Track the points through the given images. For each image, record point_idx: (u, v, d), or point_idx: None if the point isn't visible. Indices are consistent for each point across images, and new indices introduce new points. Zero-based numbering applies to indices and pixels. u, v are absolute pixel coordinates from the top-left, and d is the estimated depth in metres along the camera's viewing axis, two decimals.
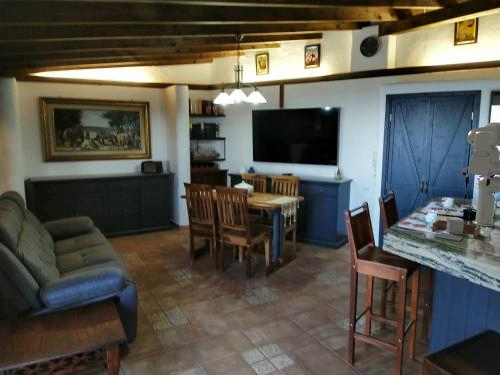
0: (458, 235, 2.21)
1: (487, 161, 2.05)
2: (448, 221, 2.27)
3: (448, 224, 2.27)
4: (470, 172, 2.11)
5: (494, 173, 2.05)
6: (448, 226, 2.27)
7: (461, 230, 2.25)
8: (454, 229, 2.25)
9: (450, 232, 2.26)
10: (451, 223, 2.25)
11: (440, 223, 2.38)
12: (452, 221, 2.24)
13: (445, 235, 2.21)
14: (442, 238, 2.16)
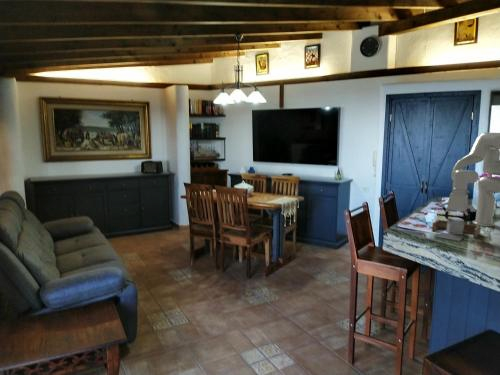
0: (458, 235, 2.21)
1: (465, 198, 2.19)
2: (448, 221, 2.27)
3: (448, 224, 2.27)
4: (449, 208, 2.25)
5: (471, 210, 2.19)
6: (448, 226, 2.27)
7: (461, 230, 2.25)
8: (454, 229, 2.25)
9: (450, 232, 2.25)
10: (451, 223, 2.24)
11: (440, 223, 2.38)
12: (452, 221, 2.24)
13: (445, 235, 2.21)
14: (442, 238, 2.16)
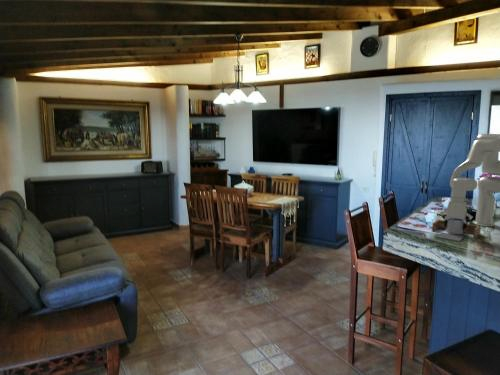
0: (458, 235, 2.21)
1: (463, 207, 2.21)
2: (448, 221, 2.27)
3: (448, 224, 2.27)
4: (448, 216, 2.26)
5: (470, 218, 2.21)
6: (448, 226, 2.27)
7: (461, 230, 2.25)
8: (454, 229, 2.25)
9: (450, 232, 2.26)
10: (451, 223, 2.25)
11: (440, 223, 2.38)
12: (452, 221, 2.24)
13: (445, 235, 2.21)
14: (442, 238, 2.16)
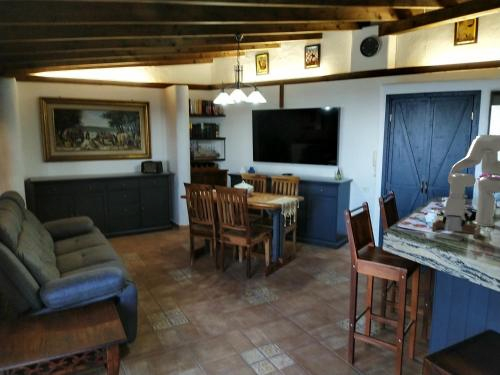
0: (458, 235, 2.21)
1: (462, 203, 2.16)
2: (446, 218, 2.23)
3: (446, 221, 2.22)
4: (447, 212, 2.22)
5: (469, 214, 2.16)
6: (446, 223, 2.22)
7: (460, 227, 2.20)
8: (453, 226, 2.20)
9: (449, 229, 2.21)
10: (450, 220, 2.20)
11: (440, 223, 2.38)
12: (451, 218, 2.20)
13: (445, 235, 2.21)
14: (442, 238, 2.16)
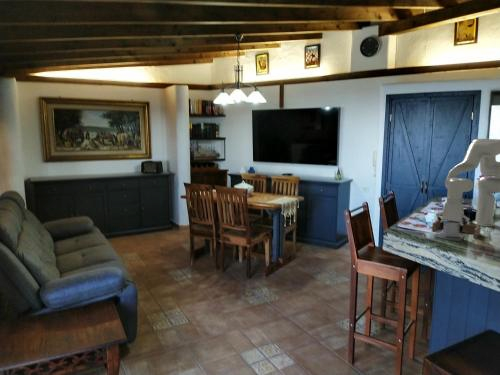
0: None
1: (460, 208, 2.12)
2: (444, 223, 2.19)
3: (444, 226, 2.19)
4: (444, 218, 2.18)
5: (466, 220, 2.12)
6: (444, 228, 2.18)
7: (457, 233, 2.16)
8: (451, 231, 2.17)
9: (446, 235, 2.17)
10: (447, 225, 2.16)
11: None
12: (448, 223, 2.16)
13: None
14: (442, 238, 2.16)
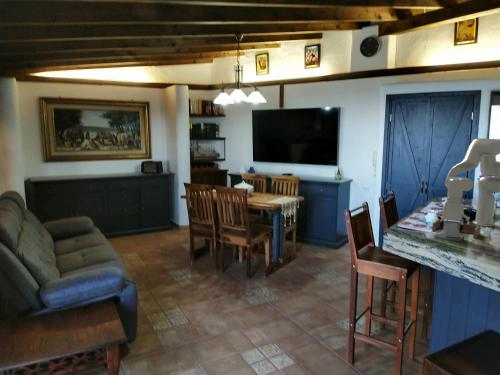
0: None
1: (460, 208, 2.12)
2: (444, 223, 2.19)
3: (444, 227, 2.19)
4: (444, 217, 2.18)
5: (467, 219, 2.12)
6: (444, 229, 2.19)
7: (457, 233, 2.16)
8: (451, 231, 2.17)
9: (446, 235, 2.17)
10: (447, 226, 2.16)
11: None
12: (448, 223, 2.16)
13: None
14: (442, 238, 2.16)
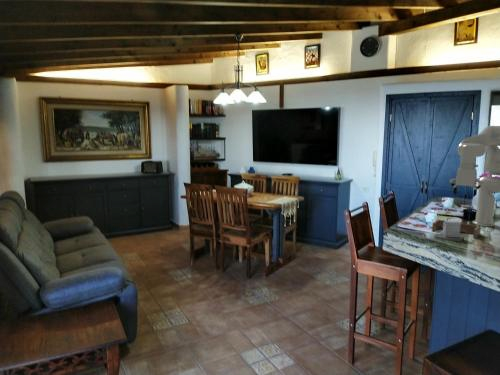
0: None
1: (473, 173, 2.15)
2: (444, 223, 2.19)
3: (444, 227, 2.19)
4: (458, 183, 2.21)
5: (480, 184, 2.15)
6: (444, 229, 2.19)
7: (457, 233, 2.16)
8: (451, 231, 2.17)
9: (446, 235, 2.17)
10: (447, 226, 2.16)
11: (440, 223, 2.38)
12: (448, 223, 2.16)
13: None
14: (442, 238, 2.16)
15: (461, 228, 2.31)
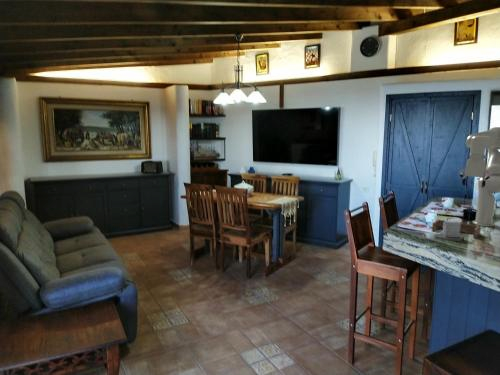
0: None
1: (482, 164, 2.19)
2: (444, 223, 2.19)
3: (444, 227, 2.19)
4: (467, 174, 2.25)
5: (489, 175, 2.19)
6: (444, 229, 2.19)
7: (457, 233, 2.16)
8: (451, 231, 2.17)
9: (446, 235, 2.17)
10: (447, 226, 2.16)
11: (440, 223, 2.38)
12: (448, 223, 2.16)
13: None
14: (442, 238, 2.16)
15: (461, 228, 2.31)
